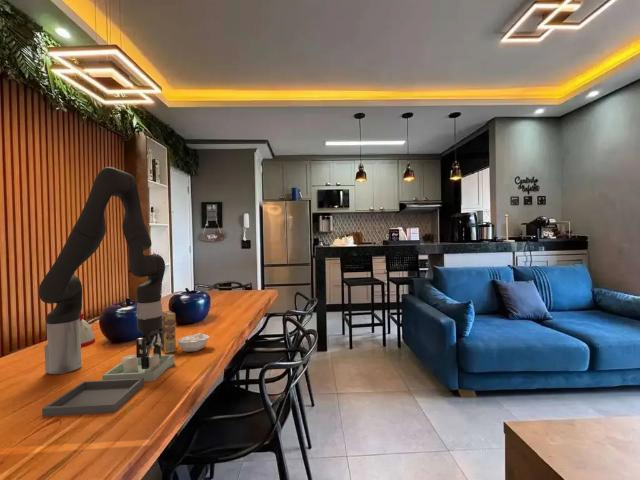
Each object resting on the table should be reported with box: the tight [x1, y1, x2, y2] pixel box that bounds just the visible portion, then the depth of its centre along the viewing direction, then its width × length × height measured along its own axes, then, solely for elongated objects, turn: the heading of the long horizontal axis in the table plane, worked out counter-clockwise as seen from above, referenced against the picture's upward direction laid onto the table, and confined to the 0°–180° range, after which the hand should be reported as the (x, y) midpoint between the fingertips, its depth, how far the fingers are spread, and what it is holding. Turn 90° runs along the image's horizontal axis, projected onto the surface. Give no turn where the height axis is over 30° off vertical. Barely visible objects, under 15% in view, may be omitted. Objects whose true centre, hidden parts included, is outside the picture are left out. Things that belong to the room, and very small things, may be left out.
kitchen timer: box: [80, 311, 96, 348], centre depth 144 cm, size 14×14×15 cm
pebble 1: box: [121, 354, 138, 373], centre depth 109 cm, size 4×4×5 cm
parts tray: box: [41, 378, 145, 417], centre depth 91 cm, size 18×16×3 cm
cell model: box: [177, 332, 210, 353], centre depth 131 cm, size 10×12×7 cm
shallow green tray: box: [101, 354, 175, 383], centre depth 109 cm, size 16×16×4 cm
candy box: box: [160, 310, 177, 354], centre depth 133 cm, size 9×4×15 cm, turn 39°
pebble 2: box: [145, 353, 160, 372], centre depth 109 cm, size 4×4×5 cm
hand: (151, 363), depth 109 cm, fingers open, 8 cm apart
